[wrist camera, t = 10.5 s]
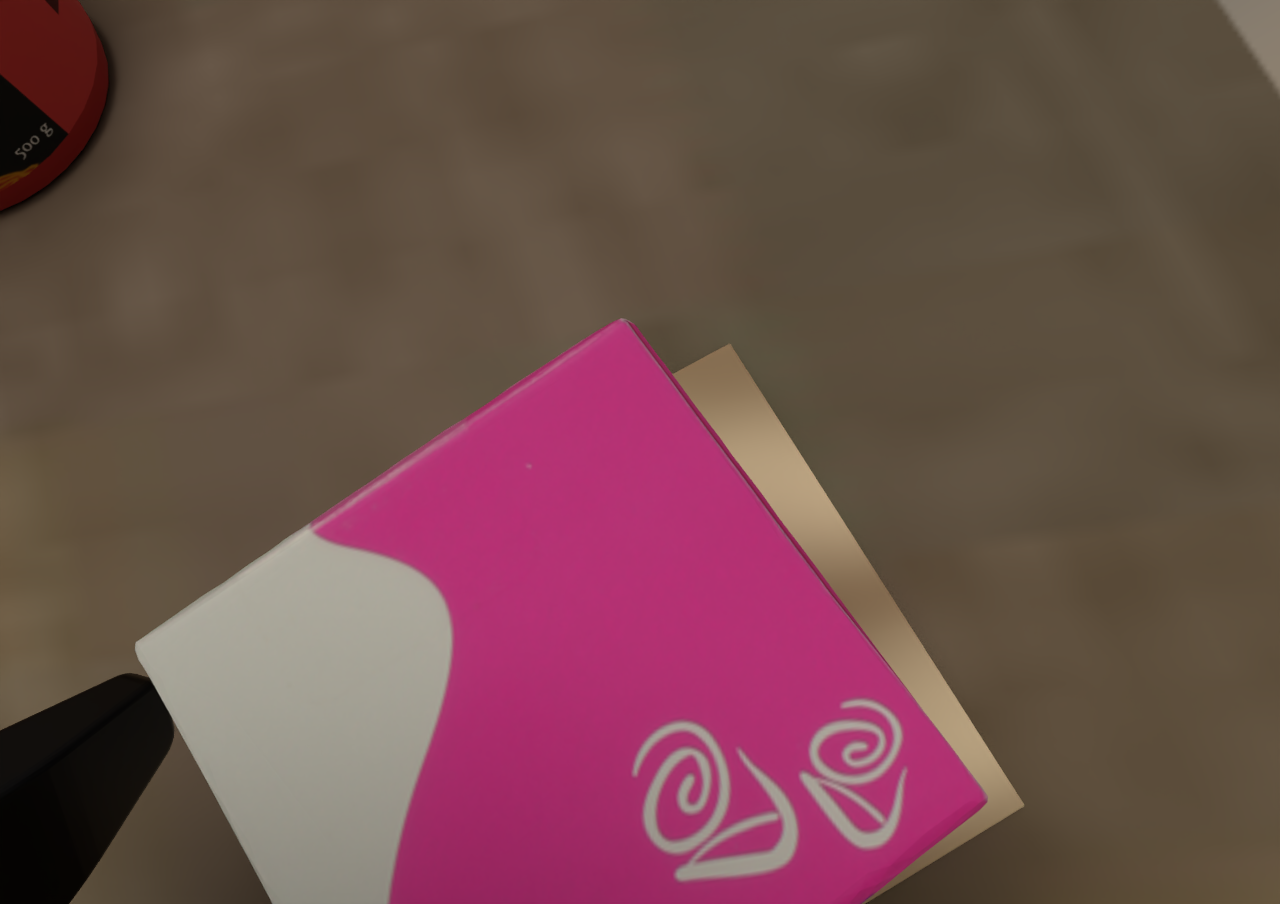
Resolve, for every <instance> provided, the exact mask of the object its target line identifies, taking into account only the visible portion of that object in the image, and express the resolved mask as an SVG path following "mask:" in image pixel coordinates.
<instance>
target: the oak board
mask: <svg viewBox="0 0 1280 904" xmlns="http://www.w3.org/2000/svg"><path fill="white" fill-rule="evenodd" d="M672 375H673V376H674V377H675V378H676V380H677V381H678V382H679V384H680V385H681V387H682V388H683V389H684V391H685V392H686V393H687V395H688V396H689V398H690V399H691V400H692V402H693V403H694V404H695V406H696V407H697V408H698V410H699V411H700V412H701V414H702V415H703V416H704V417H705V419H706V420H707V421H708V423H709V424H710V425H711V427H712V428H713V429H714V431H715V432H716V433H717V434H718V436H719V437H720V438H721V440H722V441H723V443H724V444H725V445H726V447H727V448H728V450H729V451H730V453H731V454H732V455H733V457H734V458H735V459H736V461H737V462H738V463H739V464H740V466H741V467H742V468H743V470H744V471H745V472H746V474H747V475H748V476H749V477H750V479H751V480H752V481H753V483H754V484H755V485H756V487H757V488H758V489H759V490H760V492H761V493H762V495H763V496H764V497H765V499H766V500H767V502H768V503H769V504H770V506H771V507H772V509H773V510H774V512H775V513H776V514H777V516H778V517H779V519H780V520H781V521H782V522H783V524H784V525H785V526H786V528H787V529H788V530H789V532H790V533H791V534H792V535H793V537H794V538H795V539H796V541H797V542H798V543H799V545H800V546H801V547H802V549H803V550H804V551H805V553H806V554H807V555H808V557H809V558H810V559H811V561H812V562H813V563H814V565H815V566H816V567H817V568H818V570H819V571H820V573H821V574H822V575H823V577H824V578H825V579H826V581H827V582H828V583H829V585H830V586H831V587H832V589H833V590H834V592H835V593H836V594H837V596H838V597H839V598H840V600H841V601H842V602H843V604H844V605H845V606H846V608H847V609H848V610H849V612H850V613H851V615H852V616H853V617H854V619H855V620H856V621H857V623H858V624H859V625H860V627H861V628H862V629H863V631H864V632H865V633H866V635H867V636H868V637H869V639H870V640H871V641H872V643H873V644H874V645H875V647H876V648H877V649H878V651H879V652H880V653H881V655H882V656H883V657H884V659H885V660H886V661H887V663H888V664H889V665H890V667H891V668H892V669H893V671H894V672H895V673H896V675H897V676H898V677H899V679H900V680H901V681H902V683H903V684H904V685H905V687H906V688H907V689H908V691H909V692H910V693H911V695H912V696H913V697H914V699H915V700H916V701H917V703H918V704H919V705H920V707H921V708H922V709H923V711H924V712H925V713H926V715H927V716H928V717H929V719H930V720H931V721H932V722H933V724H934V725H935V726H936V727H937V729H938V730H939V731H940V733H941V734H942V735H943V737H944V738H945V739H946V741H947V742H948V743H949V744H950V746H951V747H952V748H953V750H954V751H955V752H956V754H957V755H958V756H959V758H960V759H961V761H962V762H963V763H964V765H965V766H966V767H967V769H968V770H969V771H970V772H971V774H972V775H973V776H974V778H975V779H976V780H977V782H978V783H979V784H980V785H981V787H982V788H983V789H984V791H985V793H986V794H987V796H988V802H987V803H986V804H985V805H984V806H983V807H982V808H981V809H980V810H979V811H978V812H977V813H976V814H974V815H973V816H972V817H970V818H969V819H968V820H967V821H965V822H964V823H963V824H961V825H960V826H959V827H958V828H956V829H955V830H954V831H952V832H951V833H950V834H949V835H947V836H946V837H945V838H943V839H942V840H941V841H940V842H938V843H937V844H936V845H934V846H933V847H932V848H931V849H929V850H928V851H927V852H925V853H924V854H923V855H922V856H920V857H919V858H918V859H917V860H915V861H914V862H913V863H912V864H910V865H909V866H908V867H907V868H906V869H904V870H903V871H902V872H901V873H900V874H898V875H897V876H896V877H895V878H894V879H892V880H891V881H890V882H889V883H888V884H886V885H885V886H884V887H883V888H881V889H880V890H879V891H878V892H876V893H875V894H874V895H872V896H871V897H870V898H868V899H867V900H866V901H864V902H863V903H862V904H866V903H867V902H869V901H870V900H872V899H874V898H875V897H877V896H879V895H880V894H882V893H883V892H885V891H887V890H888V889H890V888H892V887H893V886H895V885H897V884H898V883H900V882H901V881H903V880H905V879H906V878H908V877H910V876H911V875H913V874H914V873H916V872H918V871H919V870H921V869H923V868H924V867H926V866H927V865H929V864H931V863H932V862H934V861H936V860H937V859H939V858H940V857H942V856H944V855H945V854H947V853H949V852H950V851H952V850H953V849H955V848H957V847H958V846H960V845H962V844H963V843H965V842H967V841H968V840H970V839H971V838H973V837H975V836H976V835H978V834H980V833H981V832H983V831H984V830H986V829H988V828H989V827H991V826H993V825H994V824H996V823H997V822H999V821H1001V820H1002V819H1004V818H1006V817H1007V816H1009V815H1010V814H1012V813H1014V812H1015V811H1017V810H1019V809H1020V808H1022V807H1023V806H1025V805H1024V804H1023V802H1022V801H1021V799H1020V798H1019V796H1018V794H1017V793H1016V791H1015V790H1014V788H1013V787H1012V785H1011V783H1010V782H1009V780H1008V779H1007V777H1006V776H1005V774H1004V772H1003V771H1002V769H1001V768H1000V766H999V765H998V763H997V762H996V760H995V758H994V757H993V755H992V754H991V752H990V751H989V749H988V747H987V746H986V744H985V743H984V741H983V740H982V738H981V736H980V735H979V733H978V732H977V730H976V729H975V727H974V725H973V724H972V722H971V721H970V719H969V718H968V716H967V714H966V713H965V711H964V710H963V708H962V707H961V705H960V704H959V702H958V700H957V699H956V697H955V696H954V694H953V693H952V691H951V689H950V688H949V686H948V685H947V683H946V682H945V680H944V678H943V677H942V675H941V674H940V672H939V671H938V669H937V667H936V666H935V664H934V663H933V661H932V660H931V658H930V656H929V655H928V653H927V652H926V650H925V649H924V647H923V646H922V644H921V642H920V641H919V639H918V638H917V636H916V635H915V633H914V631H913V630H912V628H911V627H910V625H909V624H908V622H907V620H906V619H905V617H904V616H903V614H902V613H901V611H900V609H899V608H898V606H897V605H896V603H895V602H894V600H893V598H892V597H891V595H890V594H889V592H888V591H887V589H886V588H885V586H884V584H883V583H882V581H881V580H880V578H879V577H878V575H877V573H876V572H875V570H874V569H873V567H872V566H871V564H870V562H869V561H868V559H867V558H866V556H865V555H864V553H863V551H862V550H861V548H860V547H859V545H858V544H857V542H856V540H855V539H854V537H853V536H852V534H851V533H850V531H849V530H848V528H847V526H846V525H845V523H844V522H843V520H842V519H841V517H840V515H839V514H838V512H837V511H836V509H835V508H834V506H833V504H832V503H831V501H830V500H829V498H828V497H827V495H826V493H825V492H824V490H823V489H822V487H821V486H820V484H819V482H818V481H817V479H816V478H815V476H814V475H813V473H812V471H811V470H810V468H809V467H808V465H807V464H806V462H805V461H804V459H803V457H802V456H801V454H800V453H799V451H798V450H797V448H796V446H795V445H794V443H793V442H792V440H791V439H790V437H789V435H788V434H787V432H786V431H785V429H784V428H783V426H782V424H781V423H780V421H779V420H778V418H777V417H776V415H775V413H774V412H773V410H772V409H771V407H770V406H769V404H768V403H767V401H766V399H765V398H764V396H763V395H762V393H761V392H760V390H759V388H758V387H757V385H756V384H755V382H754V381H753V379H752V377H751V376H750V374H749V373H748V371H747V370H746V368H745V366H744V365H743V363H742V362H741V360H740V359H739V357H738V355H737V354H736V352H735V351H734V349H733V348H732V346H731V345H730V344H728V345H726V346H724V347H722V348H720V349H718V350H717V351H715V352H713V353H711V354H709V355H707V356H706V357H704V358H702V359H700V360H698V361H696V362H694V363H693V364H691V365H689V366H687V367H685V368H683V369H681V370H680V371H678V372H676V373H674V374H672Z"/></svg>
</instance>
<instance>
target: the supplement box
mask: <svg viewBox="0 0 1280 904" xmlns="http://www.w3.org/2000/svg"><path fill="white" fill-rule="evenodd" d="M135 652H136V654H137V656H138V659H139V661H140V663H141V664H142V666H143V667H144V669H145V670H146V672H147V674H148V676H149V677H150V679H151V681H152V683H153V684H154V686H155V688H156V690H157V692H158V693H159V695H160V697H161V699H162V701H163V702H164V704H165V706H166V708H167V709H168V711H169V713H170V715H171V717H172V718H173V720H174V722H175V724H176V726H177V728H178V730H179V731H180V733H181V735H182V737H183V739H184V741H185V742H186V744H187V746H188V748H189V750H190V751H191V753H192V755H193V757H194V759H195V760H196V762H197V764H198V766H199V768H200V769H201V771H202V773H203V775H204V777H205V779H206V780H207V782H208V784H209V786H210V788H211V790H212V792H213V794H214V795H215V797H216V799H217V801H218V803H219V805H220V807H221V809H222V811H223V812H224V814H225V816H226V818H227V820H228V822H229V824H230V825H231V827H232V829H233V831H234V833H235V835H236V837H237V838H238V840H239V842H240V844H241V846H242V848H243V850H244V851H245V853H246V855H247V857H248V859H249V861H250V863H251V864H252V866H253V868H254V870H255V872H256V874H257V876H258V877H259V879H260V881H261V883H262V885H263V887H264V889H265V891H266V892H267V894H268V896H269V898H270V900H271V902H272V904H862V903H863V902H864V901H866V900H867V899H868V898H870V897H871V896H872V895H874V894H875V893H876V892H878V891H879V890H880V889H881V888H883V887H884V886H885V885H886V884H888V883H889V882H890V881H891V880H892V879H894V878H895V877H896V876H897V875H898V874H900V873H901V872H902V871H903V870H904V869H906V868H907V867H908V866H909V865H910V864H912V863H913V862H914V861H915V860H917V859H918V858H919V857H920V856H922V855H923V854H924V853H925V852H927V851H928V850H929V849H931V848H932V847H933V846H934V845H936V844H937V843H938V842H940V841H941V840H942V839H943V838H945V837H946V836H947V835H949V834H950V833H951V832H952V831H954V830H955V829H956V828H958V827H959V826H960V825H961V824H963V823H964V822H965V821H967V820H968V819H969V818H970V817H972V816H973V815H974V814H976V813H977V812H978V811H979V810H980V809H981V808H982V807H983V806H984V805H985V804H986V803H987V802H988V796H987V794H986V793H985V791H984V789H983V788H982V787H981V785H980V784H979V783H978V782H977V780H976V779H975V778H974V776H973V775H972V774H971V772H970V771H969V770H968V769H967V767H966V766H965V765H964V763H963V762H962V761H961V759H960V758H959V756H958V755H957V754H956V752H955V751H954V750H953V748H952V747H951V746H950V744H949V743H948V742H947V741H946V739H945V738H944V737H943V735H942V734H941V733H940V731H939V730H938V729H937V727H936V726H935V725H934V724H933V722H932V721H931V720H930V719H929V717H928V716H927V715H926V713H925V712H924V711H923V709H922V708H921V707H920V705H919V704H918V703H917V701H916V700H915V699H914V697H913V696H912V695H911V693H910V692H909V691H908V689H907V688H906V687H905V685H904V684H903V683H902V681H901V680H900V679H899V677H898V676H897V675H896V673H895V672H894V671H893V669H892V668H891V667H890V665H889V664H888V663H887V661H886V660H885V659H884V657H883V656H882V655H881V653H880V652H879V651H878V649H877V648H876V647H875V645H874V644H873V643H872V641H871V640H870V639H869V637H868V636H867V635H866V633H865V632H864V631H863V629H862V628H861V627H860V625H859V624H858V623H857V621H856V620H855V619H854V617H853V616H852V615H851V613H850V612H849V610H848V609H847V608H846V606H845V605H844V604H843V602H842V601H841V600H840V598H839V597H838V596H837V594H836V593H835V592H834V590H833V589H832V587H831V586H830V585H829V583H828V582H827V581H826V579H825V578H824V577H823V575H822V574H821V573H820V571H819V570H818V568H817V567H816V566H815V565H814V563H813V562H812V561H811V559H810V558H809V557H808V555H807V554H806V553H805V551H804V550H803V549H802V547H801V546H800V545H799V543H798V542H797V541H796V539H795V538H794V537H793V535H792V534H791V533H790V532H789V530H788V529H787V528H786V526H785V525H784V524H783V522H782V521H781V520H780V519H779V517H778V516H777V514H776V513H775V512H774V510H773V509H772V507H771V506H770V504H769V503H768V502H767V500H766V499H765V497H764V496H763V495H762V493H761V492H760V490H759V489H758V488H757V487H756V485H755V484H754V483H753V481H752V480H751V479H750V477H749V476H748V475H747V474H746V472H745V471H744V470H743V468H742V467H741V466H740V464H739V463H738V462H737V461H736V459H735V458H734V457H733V455H732V454H731V453H730V451H729V450H728V448H727V447H726V445H725V444H724V443H723V441H722V440H721V438H720V437H719V436H718V434H717V433H716V432H715V431H714V429H713V428H712V427H711V425H710V424H709V423H708V421H707V420H706V419H705V417H704V416H703V415H702V414H701V412H700V411H699V410H698V408H697V407H696V406H695V404H694V403H693V402H692V400H691V399H690V398H689V396H688V395H687V393H686V392H685V391H684V389H683V388H682V387H681V385H680V384H679V382H678V381H677V380H676V378H675V377H674V376H673V375H672V373H671V372H670V371H669V369H668V368H667V367H666V365H665V364H664V363H663V362H662V360H661V359H660V358H659V356H658V355H657V354H656V352H655V351H654V350H653V348H652V347H651V346H650V344H649V343H648V342H647V340H646V339H645V338H644V336H643V335H642V334H641V332H640V331H639V329H638V328H637V326H636V325H634V324H633V323H631V322H630V321H629V320H626V319H623V318H621V319H619V320H616V321H614V322H612V323H610V324H608V325H607V326H605V327H603V328H601V329H600V330H598V331H596V332H595V333H593V334H591V335H590V336H588V337H587V338H585V339H583V340H582V341H580V342H579V343H577V344H576V345H574V346H573V347H571V348H570V349H568V350H567V351H565V352H564V353H562V354H561V355H559V356H558V357H556V358H554V359H553V360H551V361H550V362H548V363H547V364H545V365H544V366H542V367H541V368H539V369H538V370H536V371H535V372H533V373H531V374H530V375H528V376H527V377H525V378H524V379H522V380H520V381H519V382H517V383H516V384H514V385H513V386H511V387H510V388H508V389H507V390H506V391H504V392H503V393H501V394H500V395H499V396H497V397H496V398H495V399H493V400H492V401H490V402H489V403H488V404H486V405H485V406H483V407H481V408H480V409H478V410H477V411H475V412H474V413H472V414H471V415H469V416H468V417H466V418H465V419H463V420H461V421H460V422H458V423H456V424H455V425H453V426H451V427H450V428H448V429H446V430H445V431H443V432H442V433H440V434H439V435H438V436H436V437H435V438H434V439H432V440H431V441H429V442H428V443H426V444H425V445H423V446H422V447H420V448H419V449H417V450H416V451H414V452H413V453H411V454H410V455H408V456H407V457H405V458H404V459H402V460H401V461H399V462H398V463H396V464H395V465H394V466H392V467H391V468H389V469H388V470H386V471H385V472H384V473H382V474H381V475H379V476H378V477H376V478H375V479H374V480H372V481H371V482H369V483H368V484H366V485H365V486H363V487H362V488H360V489H359V490H357V491H356V492H354V493H353V494H351V495H350V496H348V497H347V498H345V499H344V500H342V501H341V502H339V503H338V504H336V505H335V506H333V507H332V508H331V509H329V510H328V511H326V512H325V513H323V514H322V515H320V516H319V517H318V518H316V519H315V520H313V521H312V522H310V523H309V524H308V525H306V526H305V527H303V528H302V529H300V530H298V531H297V532H295V533H293V534H292V535H290V536H289V537H288V538H286V539H285V540H284V541H282V542H281V543H280V544H278V545H277V546H276V547H274V548H273V549H271V550H270V551H268V552H267V553H265V554H264V555H262V556H261V557H259V558H258V559H256V560H255V561H253V562H252V563H250V564H249V565H247V566H246V567H245V568H243V569H242V570H240V571H239V572H238V573H236V574H235V575H234V576H232V577H231V578H230V579H228V580H227V581H225V582H224V583H223V584H221V585H219V586H218V587H216V588H214V589H213V590H211V591H209V592H208V593H206V594H205V595H203V596H202V597H200V598H199V599H197V600H196V601H195V602H193V603H192V604H190V605H189V606H187V607H186V608H185V609H183V610H182V611H180V612H179V613H177V614H176V615H174V616H173V617H172V618H170V619H169V620H167V621H166V622H164V623H163V624H161V625H160V626H159V627H157V628H156V629H154V630H153V631H151V632H150V633H149V634H147V635H146V636H144V637H143V638H141V639H140V640H139V641H137V642H136V645H135Z"/></svg>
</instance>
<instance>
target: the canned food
mask: <svg viewBox="0 0 1280 904" xmlns="http://www.w3.org/2000/svg"><path fill="white" fill-rule="evenodd" d="M108 84H109V80H108V63H107V59H106V56H105V53H104V49H103V46H102V43H101V41H100V39H99V37H98V35H97V33H96V31H95V29H94V26H93V24H92V22H91V20H90V18H89V17H88V15H87V14H86V12H85V10H84V9H83V7H82V5H81V4H80V2H79V1H78V0H0V211H1V210H3V209H5V208H8V207H10V206H12V205H14V204H17V203H19V202H21V201H23V200H25V199H27V198H28V197H30V196H31V195H33V194H34V193H36V192H38V191H39V190H41V189H42V188H44V187H45V186H47V185H48V184H49V183H50V182H52V181H53V180H54V179H55V178H56V177H57V176H58V175H60V174H61V173H62V172H63V171H64V170H65V169H66V168H67V167H68V166H69V165H70V164H71V163H72V161H73V160H74V159H75V158H76V157H77V156H78V154H79V153H80V152H81V151H82V150H83V148H84V147H85V145H86V143H87V142H88V140H89V138H90V137H91V135H92V134H93V132H94V130H95V129H96V127H97V124H98V122H99V119H100V116H101V114H102V111H103V109H104V106H105V102H106V96H107V90H108Z"/></svg>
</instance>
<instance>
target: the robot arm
mask: <svg viewBox="0 0 1280 904" xmlns="http://www.w3.org/2000/svg"><path fill="white" fill-rule="evenodd" d="M173 738H174V724H173V720H172V717H171V715H170V713H169V711H168V709H167V708H166V706H165V704H164V702H163V701H162V699H161V697H160V695H159V693H158V692H157V690H156V688H155V686H154V684H153V683H152V681H151V679H150V678H149V677H145V676H141V675H138V674H132V673H126V674H122V675H119V676H116V677H114V678H112V679H110V680H107V681H105V682H103V683H101V684H99V685H97V686H95V687H92V688H90V689H88V690H86V691H84V692H82V693H80V694H77V695H75V696H73V697H71V698H69V699H67V700H64V701H62V702H60V703H58V704H56V705H54V706H52V707H49V708H47V709H45V710H43V711H41V712H39V713H37V714H34V715H32V716H30V717H28V718H26V719H24V720H22V721H19V722H17V723H15V724H13V725H11V726H9V727H7V728H4V729H2V730H0V904H69V903H70V902H71V900H72V899H73V898H74V896H75V895H76V894H77V892H78V891H79V890H80V888H81V887H82V885H83V884H84V883H85V881H86V880H87V878H88V877H89V876H90V874H91V873H92V871H93V870H94V868H95V867H96V865H97V864H98V862H99V861H100V859H101V858H102V856H103V854H104V853H105V851H106V850H107V848H108V847H109V845H110V843H111V842H112V840H113V839H114V837H115V835H116V834H117V832H118V831H119V829H120V828H121V826H122V824H123V823H124V821H125V820H126V818H127V816H128V815H129V813H130V812H131V810H132V809H133V807H134V805H135V804H136V802H137V801H138V799H139V797H140V796H141V794H142V793H143V791H144V790H145V788H146V786H147V785H148V783H149V782H150V780H151V778H152V777H153V775H154V774H155V772H156V771H157V769H158V767H159V766H160V764H161V763H162V761H163V760H164V758H165V756H166V755H167V753H168V751H169V749H170V747H171V745H172V742H173Z"/></svg>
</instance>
